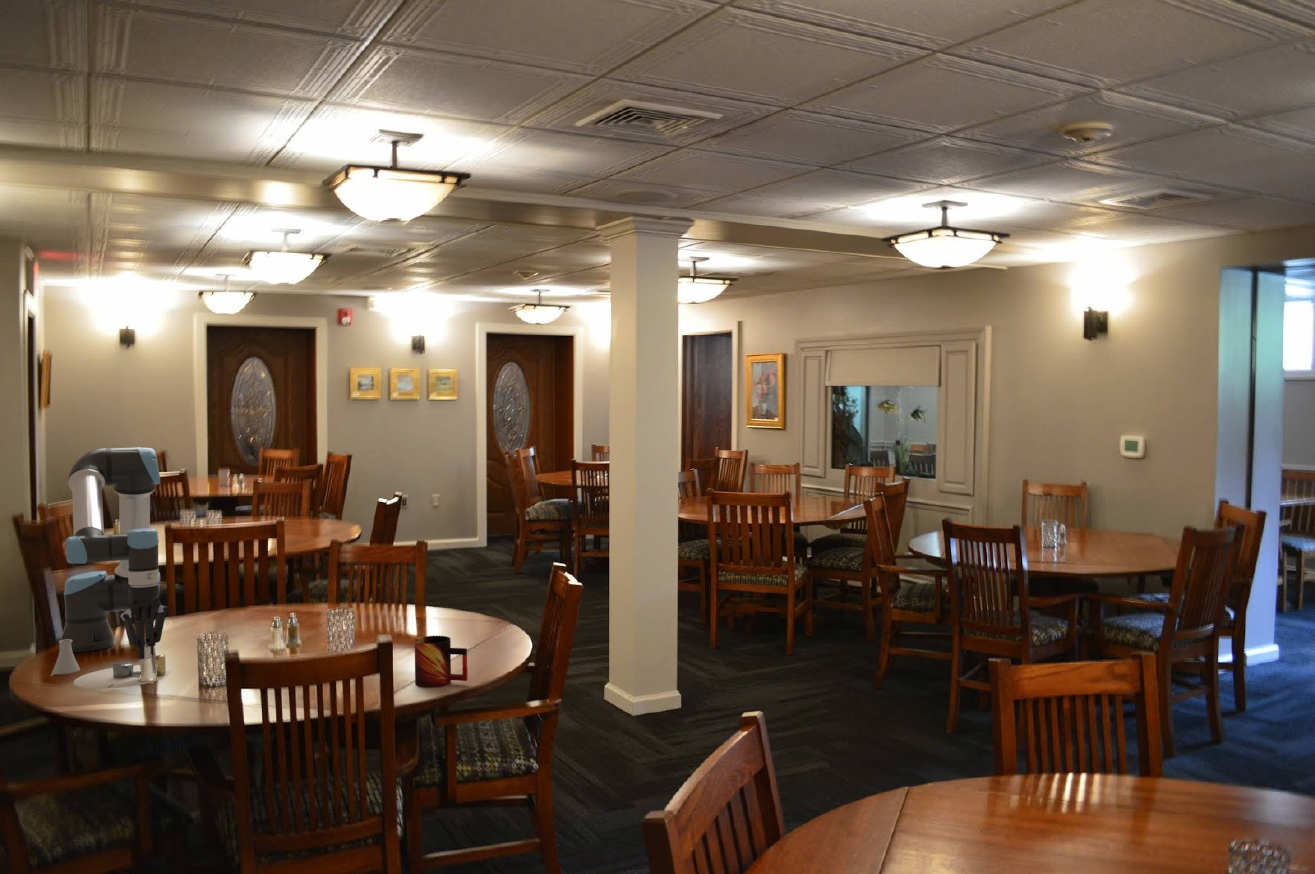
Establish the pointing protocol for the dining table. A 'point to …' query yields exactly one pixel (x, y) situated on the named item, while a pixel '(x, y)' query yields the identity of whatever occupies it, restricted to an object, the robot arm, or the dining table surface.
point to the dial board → (112, 679)
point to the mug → (437, 662)
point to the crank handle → (127, 670)
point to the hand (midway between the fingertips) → (145, 669)
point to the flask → (65, 659)
